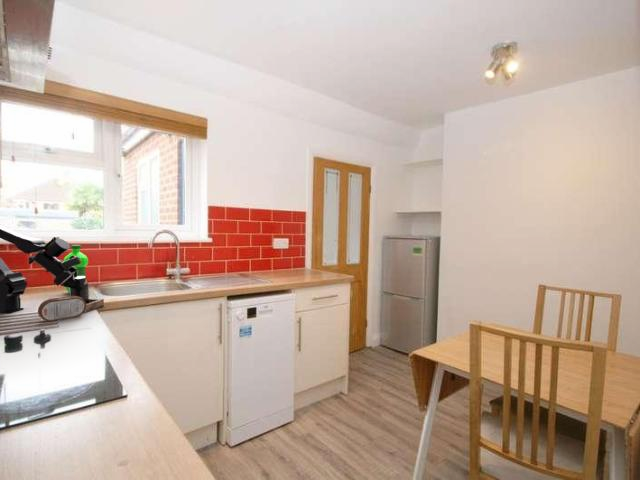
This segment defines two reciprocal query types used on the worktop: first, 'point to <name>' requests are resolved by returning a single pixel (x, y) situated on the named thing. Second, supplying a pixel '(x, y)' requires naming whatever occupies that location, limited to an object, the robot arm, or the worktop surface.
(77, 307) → the tin
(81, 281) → the supplement bottle
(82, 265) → the plastic bottle
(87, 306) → the keeper collar
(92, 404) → the worktop surface
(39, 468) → the worktop surface
